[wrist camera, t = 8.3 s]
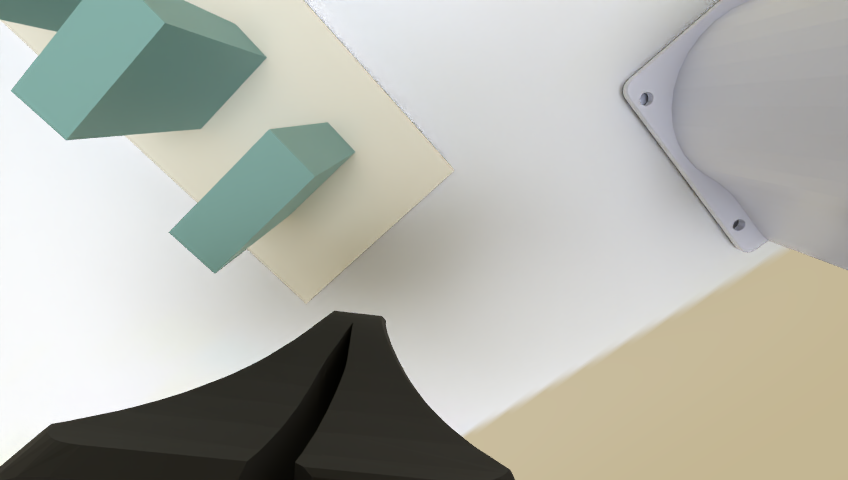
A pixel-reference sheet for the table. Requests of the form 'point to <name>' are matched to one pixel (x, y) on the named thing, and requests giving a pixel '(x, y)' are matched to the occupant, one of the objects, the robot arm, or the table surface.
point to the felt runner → (293, 106)
